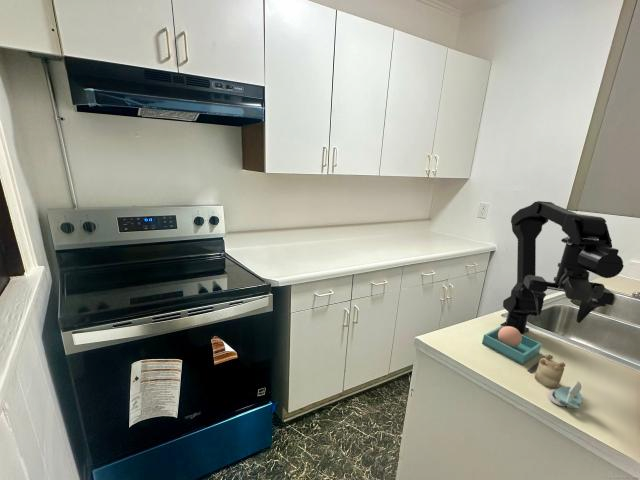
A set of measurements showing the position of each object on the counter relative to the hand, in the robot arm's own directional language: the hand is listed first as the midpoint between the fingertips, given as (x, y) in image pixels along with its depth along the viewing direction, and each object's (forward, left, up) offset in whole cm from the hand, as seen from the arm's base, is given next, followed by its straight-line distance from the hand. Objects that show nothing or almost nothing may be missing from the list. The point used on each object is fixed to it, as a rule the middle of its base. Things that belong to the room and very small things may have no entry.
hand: (557, 318), depth 86 cm
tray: (+3, -8, -13) cm, 16 cm away
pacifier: (+15, +9, -13) cm, 22 cm away
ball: (+4, -9, -9) cm, 13 cm away
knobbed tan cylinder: (+10, +4, -13) cm, 17 cm away
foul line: (+3, 0, -13) cm, 13 cm away
